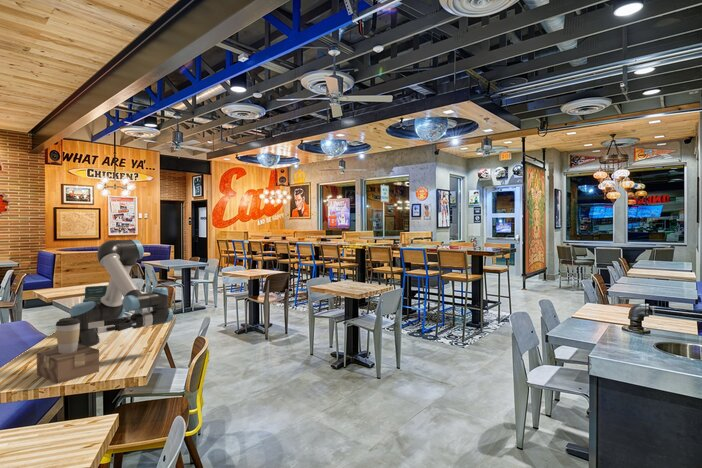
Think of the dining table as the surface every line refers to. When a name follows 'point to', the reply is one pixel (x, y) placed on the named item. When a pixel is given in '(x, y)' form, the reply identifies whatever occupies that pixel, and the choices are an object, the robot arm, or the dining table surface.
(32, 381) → the dining table surface
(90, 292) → the donation box
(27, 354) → the dining table surface
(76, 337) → the coffee cup
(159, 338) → the dining table surface
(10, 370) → the dining table surface
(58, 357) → the walnut box
